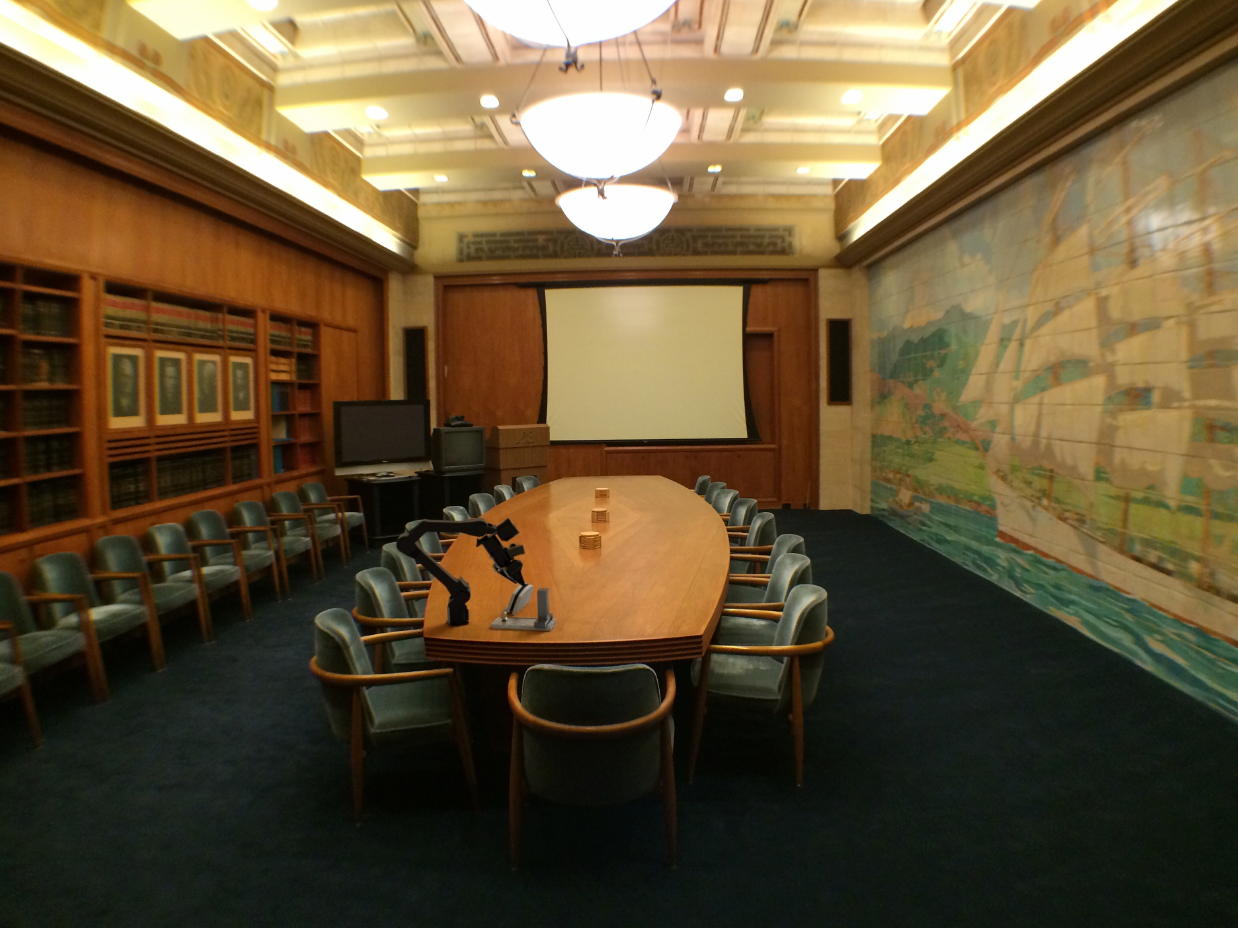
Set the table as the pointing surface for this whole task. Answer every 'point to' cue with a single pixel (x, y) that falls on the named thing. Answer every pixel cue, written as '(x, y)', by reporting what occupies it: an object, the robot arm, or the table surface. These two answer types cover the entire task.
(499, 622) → the bolt plate
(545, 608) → the leg
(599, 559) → the table surface
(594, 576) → the table surface
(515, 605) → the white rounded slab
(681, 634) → the table surface
